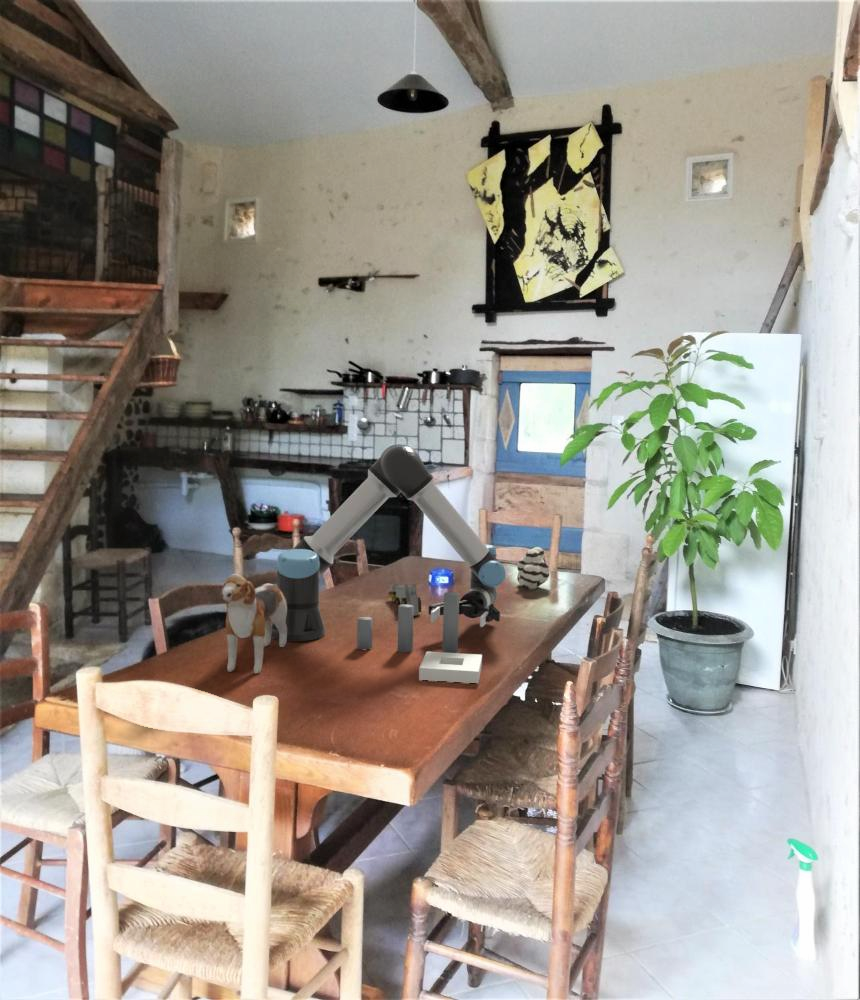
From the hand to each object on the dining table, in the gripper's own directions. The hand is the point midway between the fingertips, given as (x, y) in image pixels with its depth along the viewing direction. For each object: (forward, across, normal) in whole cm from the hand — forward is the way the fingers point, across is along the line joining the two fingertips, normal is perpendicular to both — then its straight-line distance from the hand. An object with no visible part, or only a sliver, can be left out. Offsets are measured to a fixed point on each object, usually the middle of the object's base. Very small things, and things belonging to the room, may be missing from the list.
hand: (456, 619), depth 215 cm
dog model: (+29, +44, -9) cm, 53 cm away
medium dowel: (+5, +12, -8) cm, 16 cm away
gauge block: (+20, -4, -8) cm, 22 cm away
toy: (-42, +28, -9) cm, 51 cm away
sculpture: (-89, -6, -9) cm, 90 cm away
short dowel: (+7, +23, -8) cm, 26 cm away
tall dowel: (+3, +1, -8) cm, 9 cm away
